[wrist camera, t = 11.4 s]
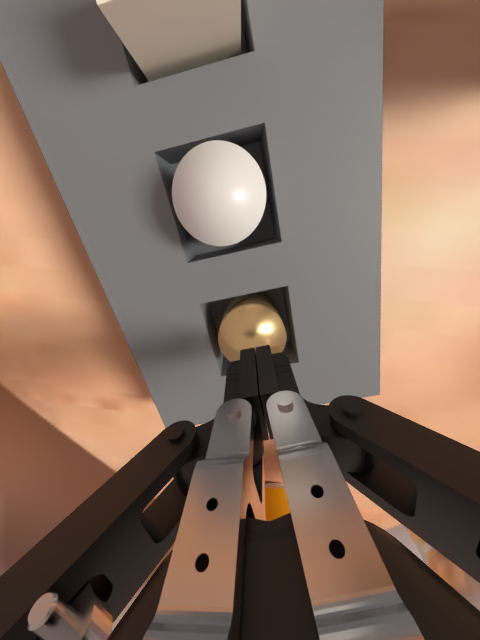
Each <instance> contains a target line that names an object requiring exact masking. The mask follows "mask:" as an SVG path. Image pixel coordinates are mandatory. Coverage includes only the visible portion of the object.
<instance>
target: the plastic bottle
mask: <svg viewBox="0 0 480 640" xmlns="http://www.w3.org/2000/svg"><path fill="white" fill-rule="evenodd" d="M405 528H406V529H407V531H408V533H409V534H410V536H411V538H412V539H413V541H414V542H415V544H416V546H417V548H418V550H419V552H420V554H421V556H422V558H423V560H424V562H425V563H426V564H427V565H428V567H430V568H431V569H432V570H433V571H434V572H435V573H437V574H438V575H439V576H440V577H441V578H442V579H444V580H445V581H446V582H447V583H448V584H449V585H450V586H452V587H453V588H454V589H455V590H456V591H457V592H459V593H460V594H461V595H462V596H463V597H464V598H466V599H467V600H468V601H469V602H470V603H471V604H472V605H474V606H475V607H476V608H477V609H478V610H479V611H480V583H479V582H477V581H476V580H475V579H473V578H472V577H471V576H469V575H468V574H467V573H466V572H464V571H463V570H462V569H460V568H459V567H458V566H456V565H455V564H454V563H452V562H451V561H450V560H449V559H447V558H446V557H445V556H443V555H442V554H441V553H439V552H438V551H437V550H435V549H434V548H433V547H432V546H430V545H429V544H428V543H426V542H425V541H424V540H422V539H421V538H420V537H418V536H417V535H416V534H415V533H413V532H412V531H411V530H409V529H408V528H407V527H405Z"/></svg>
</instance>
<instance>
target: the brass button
mask: <svg viewBox="0 0 480 640" xmlns="http://www.w3.org/2000/svg"><path fill="white" fill-rule="evenodd" d="M286 338H287V336H286V330H285V327H284V324H283V322H282V319H281V317H280V314H279V312H278V309H277V307H276V305H275V303H274V301H273V300H272V299H271V298H270V297H269V296H268V295H266V294H264V293H262V292H255V293H250V294H245V295H241V296H236V297H231V298H230V299H229V300H228V301H227V302H226V304H225V306H224V309H223V312H222V318H221V323H220V328H219V333H218V343H219V347H220V350H221V351H222V353H223V355H224V356H225V357H226V358H227V359H228V360H229V361H230V362H232V361H237V360H240V350H242V349H248V348H253V347H254V348H255V351H256V347H258V346H264V345H269V344H270V349H271V354H275V353H281V352H283V350H284V347H285V345H286Z"/></svg>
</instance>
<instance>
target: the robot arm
mask: <svg viewBox="0 0 480 640" xmlns="http://www.w3.org/2000/svg"><path fill="white" fill-rule="evenodd" d="M267 427H268V429H267ZM268 431H269V436H270V439H274V442H275V447H276V451H277V456H278V460H279V465H280V469H281V473H282V478H283V482H284V487H285V491H286V495H287V500H288V504H289V509H290V513H288V514H286V515H283V516H281V517H279V518H277V519H274V520H272V521H266V515H265V459H264V454H263V453H264V446H263V440H269V437H268ZM172 477H173V478H174V480H173V481H172V482H171V483H170V484H169V485H168V486H167V487H166V488H165V489H164V491H163V492H162V493H161V494H160V495H159V496H158V497H157V498H156V499H155V500H154V502H153V503H152V504H151V505H150V506H149V507H148V508H147V509H146V510H145V511H144V512H143V510H144V508H145V507H146V506H147V504H148V503H149V502H150V501H151V500H152V499H153V498H154V497H155V496H156V495H157V494H158V492H159V491H160V490H161V489H162V488H163V487H164V486H165V485H166V484H167V483H168V482H169V481H170V479H171V478H172ZM346 481H347V482H348V483H349V484H351V485H352V486H353V487H354V488H356V489H357V490H358V491H360V492H361V493H362V494H364V495H365V496H366V497H368V498H369V499H370V500H371V501H373V502H374V503H375V504H377V505H378V506H379V507H381V508H382V509H383V510H384V511H386V512H387V513H388V514H390V515H391V516H392V517H394V518H395V519H396V520H398V521H399V522H400V523H401V524H403V525H404V526H405V527H407V528H408V529H409V530H411V531H412V532H413V533H415V534H416V535H417V536H418V537H420V538H421V539H422V540H424V541H425V542H426V543H428V544H429V545H430V546H432V547H433V548H434V549H435V550H437V551H438V552H439V553H441V554H442V555H443V556H445V557H446V558H447V559H449V560H450V561H451V562H452V563H454V564H455V565H456V566H458V567H459V568H460V569H462V570H463V571H464V572H466V573H467V574H468V575H469V576H471V577H472V578H473V579H475V580H476V581H477V582H479V583H480V452H479V451H477V450H474V449H472V448H470V447H468V446H466V445H463V444H461V443H459V442H457V441H455V440H453V439H450V438H448V437H446V436H444V435H442V434H439V433H437V432H435V431H433V430H431V429H428V428H426V427H424V426H422V425H420V424H417V423H415V422H413V421H411V420H409V419H406V418H404V417H402V416H400V415H398V414H395V413H393V412H391V411H389V410H387V409H384V408H382V407H380V406H378V405H376V404H373V403H371V402H369V401H367V400H365V399H362V398H360V397H357V396H352V395H343V396H339V397H336V398H335V399H333V400H332V401H331V402H330V404H329V406H328V405H319V404H314V403H311V402H308V401H307V400H305V399H304V398H303V397H302V396H301V395H300V393H299V390H298V387H297V384H296V380H295V377H294V374H293V371H292V368H291V365H290V362H289V358H288V357H287V356H286V355H285V354H284V353H282V352H281V353H275V354H271V349H270V344H269V345H264V346H258V347H256V351H255V348H254V347H253V348H248V349H242V350H240V360H237V361H232V362H231V363H230V365H229V366H228V367H227V373H226V383H225V393H224V402H223V404H222V405H221V406H220V407H219V408H218V410H217V411H216V415H215V418H214V419H212V420H211V421H209V422H207V423H205V424H202V425H200V426H198V427H195V425H194V424H193V423H192V422H190V421H187V420H183V421H178V422H175V423H173V424H171V425H170V426H168V427H167V428H166V429H165V430H163V431H162V432H161V433H160V434H159V435H158V436H157V437H156V438H154V439H153V440H152V441H151V442H150V443H149V444H148V445H147V446H146V447H144V448H143V449H142V450H141V451H140V452H139V453H138V454H137V455H135V456H134V457H133V458H132V459H131V460H130V461H129V462H128V463H127V464H125V465H124V466H123V467H122V468H121V469H120V470H119V471H118V472H117V473H115V474H114V475H113V476H112V477H111V478H110V479H109V480H108V481H106V482H105V483H104V484H103V485H102V486H101V487H100V488H99V489H98V490H96V491H95V492H94V493H93V494H92V495H91V496H90V497H89V498H88V499H86V500H85V501H84V502H83V503H82V504H81V505H80V506H79V507H77V508H76V509H75V510H74V511H73V512H72V513H71V514H70V515H69V516H67V517H66V518H65V519H64V520H63V521H62V522H61V523H60V524H58V525H57V526H56V527H55V528H54V529H53V530H52V531H51V532H50V533H48V534H47V535H46V536H45V537H44V538H43V539H42V540H41V541H39V542H38V543H37V544H36V545H35V546H34V547H33V548H32V549H31V550H29V551H28V552H27V553H26V554H25V555H24V556H23V557H22V558H21V559H19V560H18V561H17V562H16V563H15V564H14V565H13V566H12V567H11V568H9V570H7V571H6V572H5V573H4V574H3V575H2V576H1V577H0V640H480V611H479V610H478V609H477V608H476V607H475V606H474V605H472V604H471V603H470V602H469V601H468V600H467V599H466V598H464V597H463V596H462V595H461V594H460V593H459V592H457V591H456V590H455V589H454V588H453V587H452V586H450V585H449V584H448V583H447V582H446V581H445V580H444V579H442V578H441V577H440V576H439V575H438V574H437V573H435V572H434V571H433V570H432V569H431V568H430V567H428V566H427V565H426V564H425V563H424V562H423V561H421V560H420V559H419V558H418V557H417V556H416V555H415V554H413V553H412V552H411V551H410V550H409V549H408V548H406V547H405V546H404V545H403V544H402V543H401V542H399V541H398V540H397V539H396V538H395V537H393V536H392V535H390V534H389V533H388V532H386V531H385V530H383V529H382V528H380V527H378V526H376V525H375V524H373V523H370V522H368V521H366V520H364V519H363V518H362V516H361V513H360V511H359V509H358V507H357V505H356V503H355V500H354V498H353V496H352V494H351V492H350V490H349V488H348V485H347V483H346ZM142 512H143V513H142ZM174 542H175V544H174V548H173V550H172V551H171V552H170V554H169V555H168V556H167V557H166V558H165V559H164V560H163V562H162V563H161V564H160V566H159V567H158V569H157V570H156V571H155V573H154V574H153V576H152V577H151V578H150V580H149V581H148V582H147V584H146V585H145V587H144V588H143V589H142V591H141V592H140V594H139V595H138V596H137V598H136V599H135V601H134V602H133V603H132V605H131V606H130V608H129V609H128V610H127V612H126V613H125V615H124V616H123V617H122V619H121V620H120V622H119V623H118V624H117V626H116V627H115V629H114V630H113V631H112V625H113V622H114V621H115V620H116V618H117V617H118V616H119V614H120V613H121V612H122V610H123V609H124V608H125V607H126V605H127V604H128V603H129V601H130V600H131V599H132V597H133V596H134V595H135V593H136V592H137V591H138V589H139V588H140V587H141V585H142V584H143V583H144V582H145V580H146V579H147V578H148V576H149V575H150V573H151V572H152V571H153V570H154V568H155V567H156V566H157V564H158V563H159V562H160V560H161V559H162V558H163V556H164V555H165V554H166V553H167V551H168V550H169V549H170V547H171V546H172V545H173V543H174ZM111 632H112V633H111Z"/></svg>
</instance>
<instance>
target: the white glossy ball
mask: <svg viewBox="0 0 480 640" xmlns="http://www.w3.org/2000/svg"><path fill="white" fill-rule="evenodd" d="M172 200H173V205H174V209H175V212H176V215H177V217H178V219H179V221H180V222H181V224H182V225H183V227H184V228H185V229H186V230H187V231H188V232H189V233H190V234H191V235H192V236H193V237H194V238H196V239H197V240H199V241H201V242H203V243H206V244H209V245H213V246H228V245H232V244H236V243H238V242H240V241H242V240H243V239H245V238H246V237H248V236H249V235H250V234H251V233H252V232H253V231H254V230H255V228H256V227H257V226H258V224H259V222H260V220H261V218H262V216H263V213H264V209H265V205H266V185H265V180H264V177H263V174H262V171H261V169H260V167H259V165H258V164H257V162H256V161H255V159H254V158H253V157H252V156H251V155H250V154H249V153H248V152H247V151H246V150H244V149H243V148H241V147H240V146H238V145H236V144H234V143H231V142H228V141H222V140H213V141H207V142H204V143H201V144H199V145H197V146H196V147H194V148H193V149H191V150H190V151H189V152H188V153H187V154H186V155H185V156H184V157H183V158H182V160H181V161H180V163H179V165H178V167H177V169H176V171H175V174H174V178H173V183H172Z"/></svg>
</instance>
